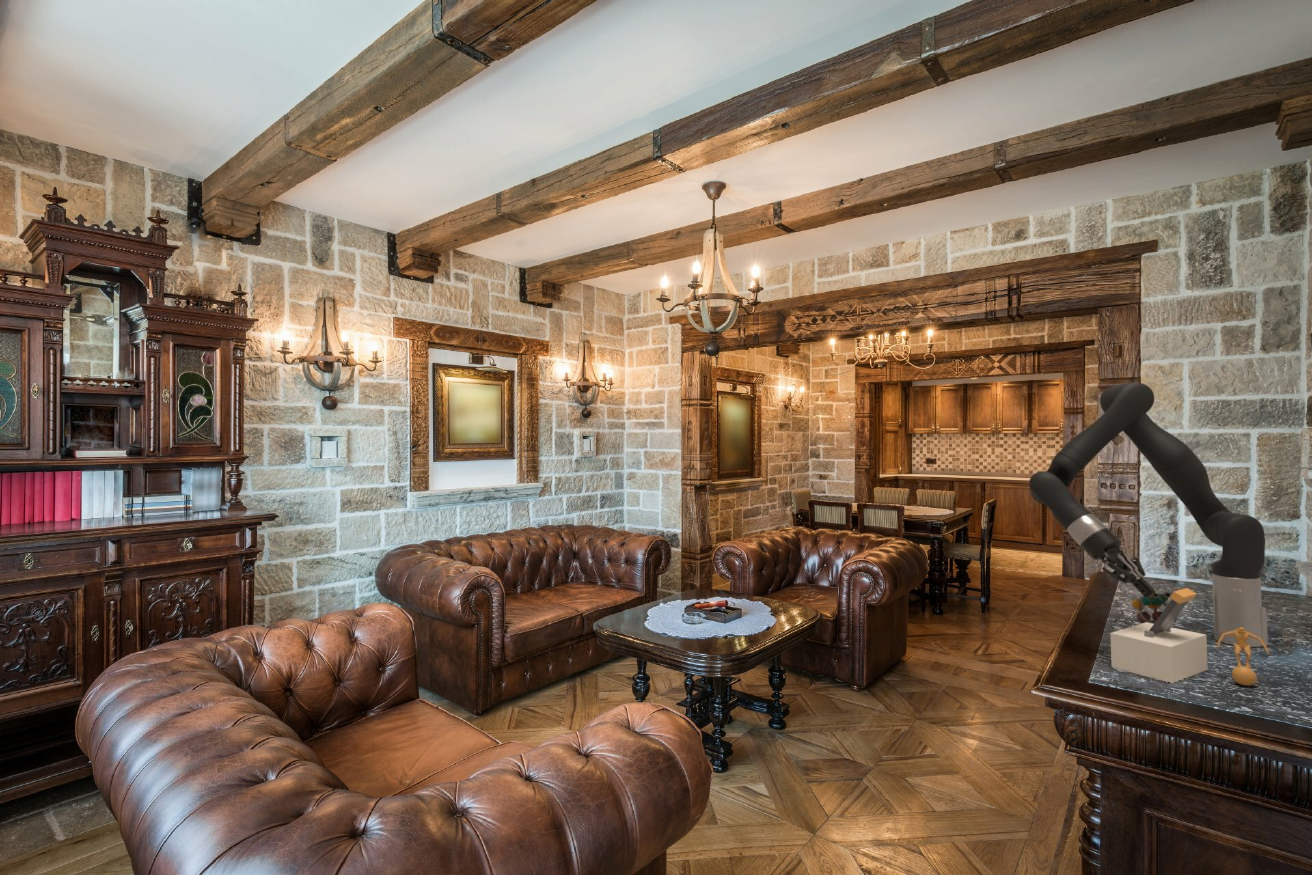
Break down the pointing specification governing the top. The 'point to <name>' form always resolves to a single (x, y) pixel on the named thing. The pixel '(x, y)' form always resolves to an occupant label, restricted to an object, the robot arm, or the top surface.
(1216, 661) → the top surface
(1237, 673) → the figurine
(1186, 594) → the handle
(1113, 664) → the breaker housing
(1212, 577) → the robot arm
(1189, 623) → the top surface
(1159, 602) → the binoculars
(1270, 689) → the top surface
